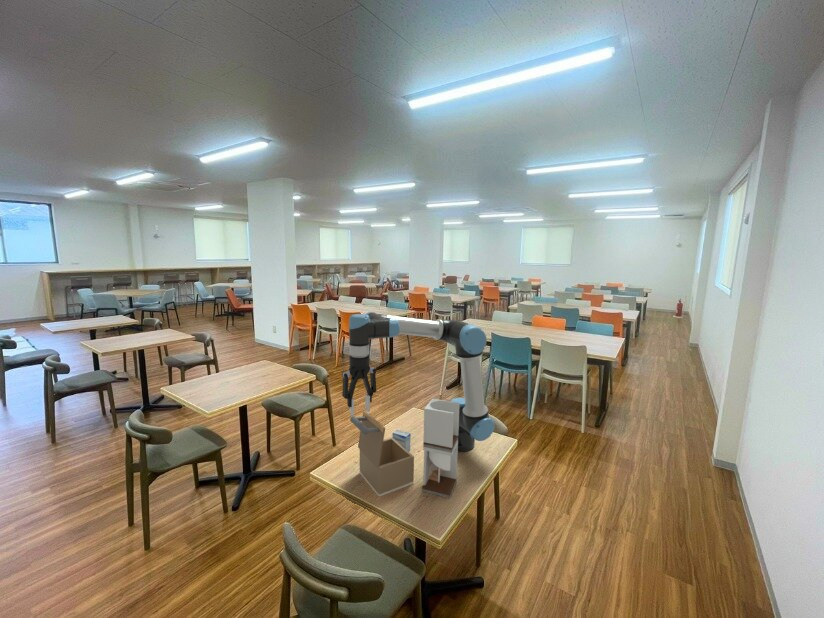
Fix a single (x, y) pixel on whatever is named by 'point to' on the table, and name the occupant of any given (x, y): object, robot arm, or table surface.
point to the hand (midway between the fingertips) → (359, 412)
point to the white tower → (440, 447)
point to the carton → (389, 468)
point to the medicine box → (402, 438)
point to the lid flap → (370, 437)
